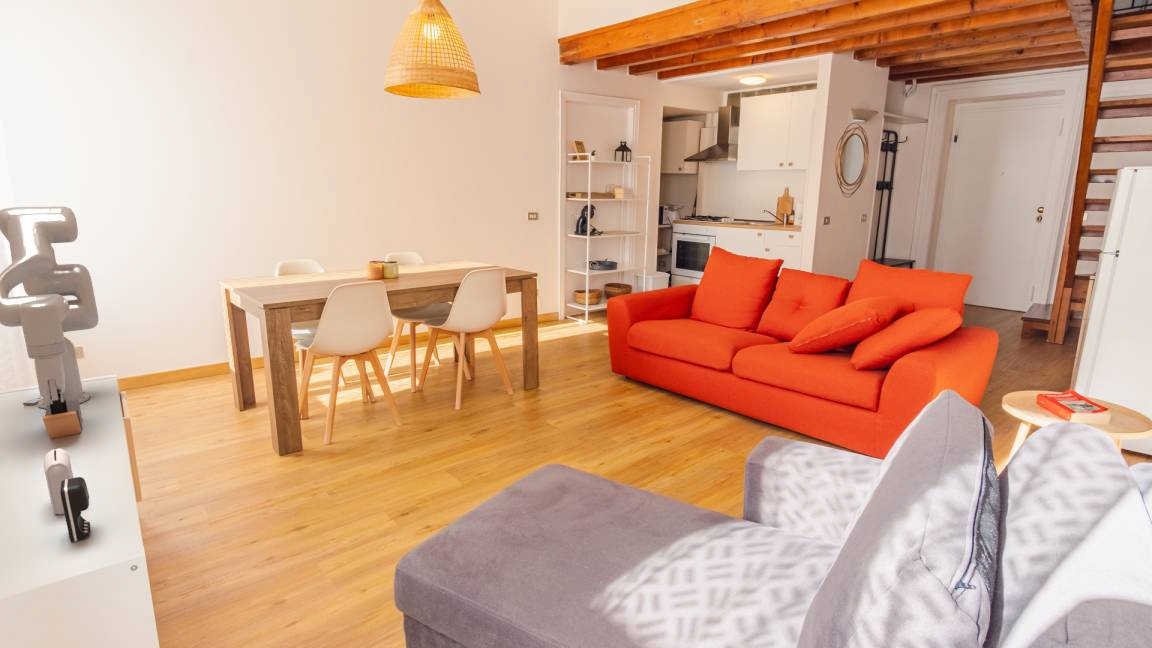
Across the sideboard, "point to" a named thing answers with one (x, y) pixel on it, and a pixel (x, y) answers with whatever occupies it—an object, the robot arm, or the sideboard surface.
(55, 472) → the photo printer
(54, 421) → the side door
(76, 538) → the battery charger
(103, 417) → the sideboard surface
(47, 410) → the camera housing
